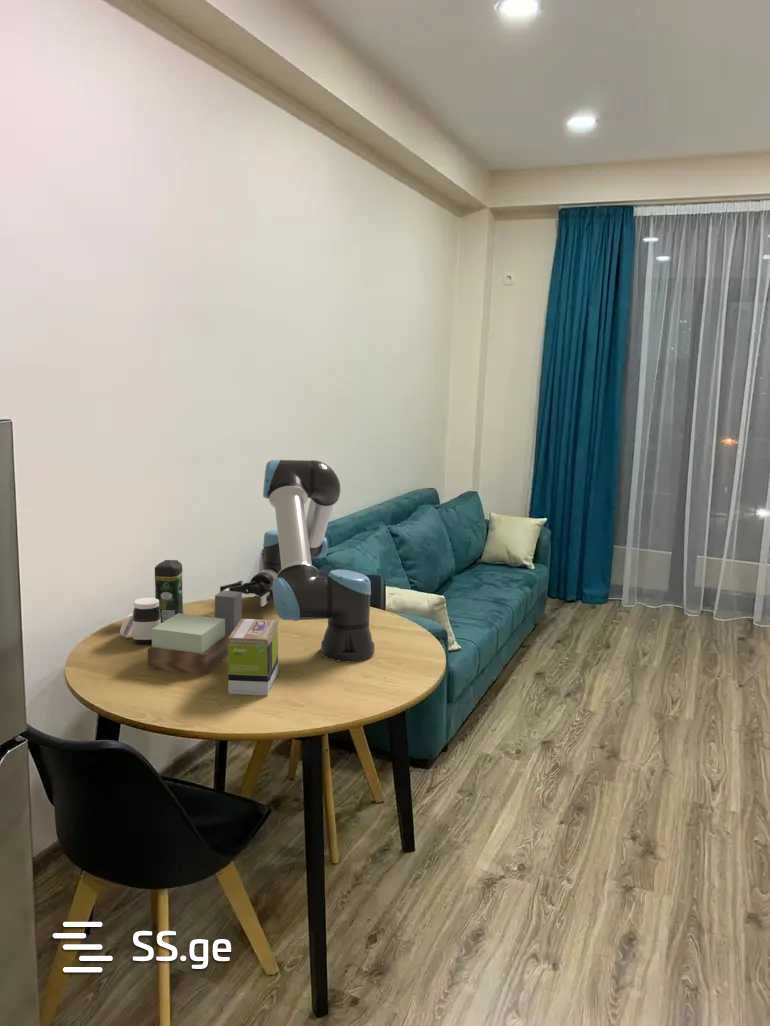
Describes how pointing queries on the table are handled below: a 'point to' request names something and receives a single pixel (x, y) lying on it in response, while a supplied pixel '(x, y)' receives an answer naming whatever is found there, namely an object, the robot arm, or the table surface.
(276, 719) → the table surface
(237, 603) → the gray block
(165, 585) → the coffee jar
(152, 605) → the spread jar
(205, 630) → the sage block
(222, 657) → the walnut block
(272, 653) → the tea box
